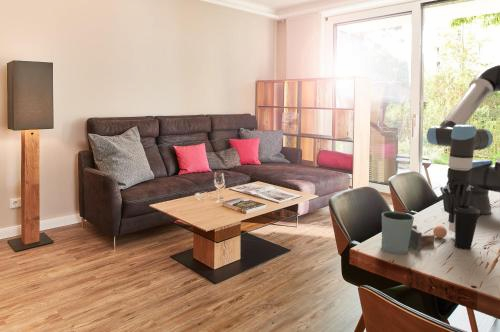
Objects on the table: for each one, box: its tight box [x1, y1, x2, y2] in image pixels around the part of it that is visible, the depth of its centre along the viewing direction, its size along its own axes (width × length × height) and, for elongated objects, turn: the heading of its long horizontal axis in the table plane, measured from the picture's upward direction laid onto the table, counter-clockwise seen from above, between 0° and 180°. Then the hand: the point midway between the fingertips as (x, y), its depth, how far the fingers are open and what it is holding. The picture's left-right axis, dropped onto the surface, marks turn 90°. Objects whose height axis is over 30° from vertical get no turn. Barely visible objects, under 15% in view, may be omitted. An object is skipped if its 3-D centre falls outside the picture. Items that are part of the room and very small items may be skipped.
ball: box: [432, 225, 448, 239], centre depth 146 cm, size 4×4×4 cm
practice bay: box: [409, 224, 436, 251], centre depth 142 cm, size 9×14×6 cm, turn 13°
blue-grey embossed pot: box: [381, 210, 415, 255], centre depth 135 cm, size 10×10×12 cm
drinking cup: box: [454, 191, 480, 251], centre depth 136 cm, size 8×8×20 cm
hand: (453, 230), depth 147 cm, fingers closed
